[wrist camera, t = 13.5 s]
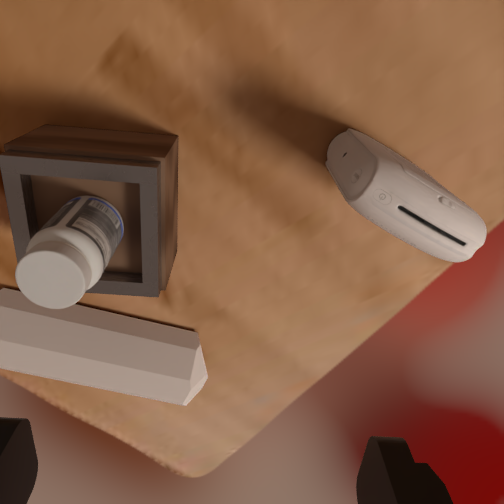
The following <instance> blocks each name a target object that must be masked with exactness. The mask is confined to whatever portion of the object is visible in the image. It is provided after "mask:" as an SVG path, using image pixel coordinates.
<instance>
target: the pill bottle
mask: <svg viewBox="0 0 504 504" xmlns="http://www.w3.org/2000/svg"><path fill="white" fill-rule="evenodd" d="M123 232H124V226H123V221H122V218H121V215H120V214H119V212H118V211H117V209H116V208H115V207H114V206H113V205H112V204H110V203H109V202H108V201H106V200H104V199H102V198H99V197H95V196H79V197H76V198H73V199H71V200H70V201H68V202H67V203H66V204H65V205H64V206H63V207H62V208H61V209H60V210H59V211H58V212H57V213H56V214H55V215H54V216H53V217H52V218H51V219H50V220H49V221H48V222H47V223H46V224H45V225H44V226H43V227H42V228H41V229H40V230H39V231H38V232H37V233H36V234H35V235H34V236H33V237H32V239H31V240H30V242H29V244H28V246H27V249H26V254H25V255H24V256H23V257H22V258H21V260H20V261H19V263H18V265H17V267H16V272H15V277H16V282H17V285H18V287H19V289H20V290H21V292H22V293H23V294H24V295H25V296H26V297H27V298H28V299H29V300H30V301H32V302H33V303H35V304H37V305H40V306H42V307H46V308H50V309H62V308H66V307H69V306H72V305H74V304H75V303H77V302H78V301H79V300H80V299H81V298H82V296H83V295H84V293H85V292H86V290H88V289H90V288H91V287H93V286H94V285H95V284H96V283H97V282H98V280H99V279H100V278H101V276H102V274H103V272H104V270H105V268H106V266H107V265H108V262H109V261H110V259H111V257H112V256H113V254H114V252H115V251H116V248H117V246H118V245H119V243H120V241H121V239H122V237H123Z"/></svg>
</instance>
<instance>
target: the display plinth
mask: <svg viewBox="0 0 504 504" xmlns="http://www.w3.org/2000/svg"><path fill="white" fill-rule="evenodd" d="M4 148H5V152H3V153H1V154H0V168H1V173H2V179H3V185H4V190H5V196H6V201H7V207H8V212H9V218H10V224H11V229H12V235H13V240H14V246H15V251H16V257H17V262H18V263H19V261H20V260H21V258H22V257H23V256H24V255H25V254H26V249H27V246H28V244H29V242H30V240H31V239H32V237H33V236H34V235H35V234H36V233H37V232H38V231H39V230H40V229H41V228H42V227H43V226H44V225H45V224H46V223H47V222H48V221H49V220H50V219H51V218H52V217H53V216H54V215H55V214H56V213H57V212H58V211H59V210H60V209H61V208H62V207H63V206H64V205H65V204H66V203H67V202H68V201H70V200H71V199H73V198H76V197H79V196H95V197H99V198H102V199H104V200H106V201H108V202H109V203H110V204H112V205H113V206H114V207H115V208H116V209H117V211H118V212H119V214H120V215H121V218H122V221H123V226H124V232H123V237H122V239H121V241H120V243H119V245H118V246H117V248H116V251H115V252H114V254H113V256H112V257H111V259H110V261H109V262H108V265H107V266H106V268H105V270H104V272H103V274H102V276H101V278H100V279H99V280H98V282H97V283H96V284H95V285H94V286H93V287H91V288H90V289H88V290H86V292H85V293H100V294H115V295H131V296H146V297H159V294H160V291H161V290H166V287H167V283H168V280H169V277H170V273H171V270H172V267H173V263H174V260H175V256H176V253H177V208H178V136H173V135H162V134H150V133H138V132H127V131H115V130H103V129H92V128H80V127H68V126H56V125H43V126H41V127H39V128H37V129H35V130H33V131H31V132H29V133H27V134H25V135H23V136H21V137H18V138H16V139H14V140H12V141H10V142H8V143H6V144H4Z"/></svg>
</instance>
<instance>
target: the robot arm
mask: <svg viewBox="0 0 504 504" xmlns="http://www.w3.org/2000/svg"><path fill="white" fill-rule="evenodd" d="M37 471H38V460H37V455H36V450H35V445H34V440H33V435H32V430H31V425H30V422H29V420H28V419H24V418H2V417H0V504H27V501H28V499H29V497H30V495H31V493H32V490H33V488H34V485H35V481H36V477H37ZM356 488H357V500H358V504H453V502H452V500H451V497H450V495H449V493H448V491H447V489H446V486H445V484H444V483H443V482H442V481H441V479H440V478H439V477H438V476H437V475H436V474H435V472H434V471H433V470H432V469H431V467H430V466H429V465H428V464H427V463H415V462H414V459H413V457H412V455H411V452H410V449H409V447H408V445H407V443H406V441H405V440H404V439H403V438H398V437H378V436H377V437H376V436H372V437H370V439H369V440H368V443H367V446H366V450H365V453H364V456H363V460H362V463H361V466H360V469H359V473H358V476H357V486H356Z"/></svg>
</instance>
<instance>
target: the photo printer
mask: <svg viewBox="0 0 504 504" xmlns="http://www.w3.org/2000/svg"><path fill="white" fill-rule="evenodd" d="M325 164H326V167H327V169H328V171H329V172H330V174H331V176H332V178H333V179H334V181H335V183H336V185H337V186H338V188H339V190H340V192H341V193H342V195H343V197H344V198H345V200H346V201H347V202H348V204H349V205H350V206H351V207H352V208H354V209H355V210H356V211H357V212H358V213H360V214H361V215H362V216H364V217H365V218H366V219H368V220H370V221H371V222H373V223H374V224H376V225H377V226H379V227H380V228H382V229H383V230H385V231H387V232H388V233H390V234H392V235H394V236H395V237H397V238H399V239H400V240H402V241H404V242H406V243H408V244H410V245H411V246H413V247H415V248H417V249H419V250H421V251H423V252H425V253H428V254H430V255H432V256H434V257H437V258H439V259H443V260H446V261H451V262H462V261H465V260H468V259H470V258H471V257H472V256H473V254H474V252H475V251H476V250H477V249H478V248H480V247H481V246H482V245H483V244H484V241H485V238H486V225H485V223H484V221H483V220H482V218H481V217H480V216H479V215H478V214H477V213H476V212H475V211H474V210H473V209H472V208H470V207H469V206H468V205H466V203H465V202H463V201H461V200H460V199H459V198H457V197H456V196H455V195H453V194H452V193H451V192H450V191H448V190H447V189H446V188H445V187H443V186H442V185H441V184H440V183H438V182H437V181H436V180H435V179H433V178H432V177H431V176H430V175H429V174H427V173H426V172H425V171H424V170H422V169H420V168H419V167H418V166H416V165H414V164H413V163H411V162H410V161H408V160H407V159H405V158H404V157H402V156H401V155H399V154H397V153H396V152H394V151H393V150H391V149H389V148H388V147H386V146H384V145H383V144H381V143H379V142H378V141H376V140H374V139H373V138H371V137H369V136H367V135H365V134H363V133H361V132H359V131H356V130H353V129H350V128H348V129H347V131H346V132H343V133H341V134H339V135H337V136H336V137H335V138H334V139H333V140H332V142H331V143H330V145H329V147H328V151H327V161H326V162H325Z"/></svg>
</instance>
